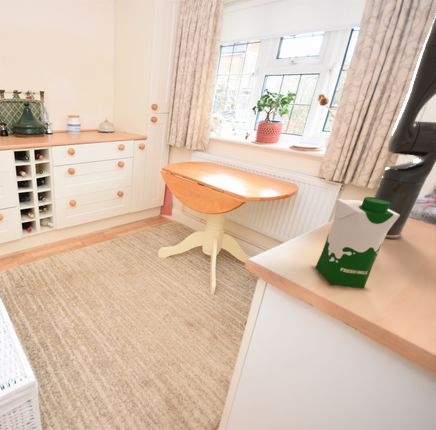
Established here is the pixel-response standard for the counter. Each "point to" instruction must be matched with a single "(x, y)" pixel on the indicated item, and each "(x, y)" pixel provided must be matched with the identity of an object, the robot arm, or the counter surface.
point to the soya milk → (355, 241)
